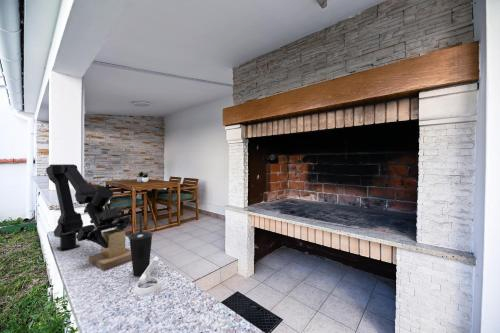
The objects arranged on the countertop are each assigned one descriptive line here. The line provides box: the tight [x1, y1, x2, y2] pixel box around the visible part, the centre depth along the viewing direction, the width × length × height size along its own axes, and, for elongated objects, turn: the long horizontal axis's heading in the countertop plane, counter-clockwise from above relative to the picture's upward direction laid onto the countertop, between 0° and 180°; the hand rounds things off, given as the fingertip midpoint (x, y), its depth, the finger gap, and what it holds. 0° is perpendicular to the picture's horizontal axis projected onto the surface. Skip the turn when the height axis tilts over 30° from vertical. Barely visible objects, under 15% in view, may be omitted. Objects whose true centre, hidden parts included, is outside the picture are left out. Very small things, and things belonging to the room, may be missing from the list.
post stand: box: [88, 247, 132, 272], centre depth 86 cm, size 12×12×6 cm
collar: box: [100, 228, 126, 259], centre depth 86 cm, size 6×6×9 cm
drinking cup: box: [128, 215, 154, 278], centre depth 75 cm, size 8×8×20 cm
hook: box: [133, 255, 162, 296], centre depth 66 cm, size 8×12×7 cm
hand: (115, 244), depth 85 cm, fingers closed on collar, 6 cm apart
